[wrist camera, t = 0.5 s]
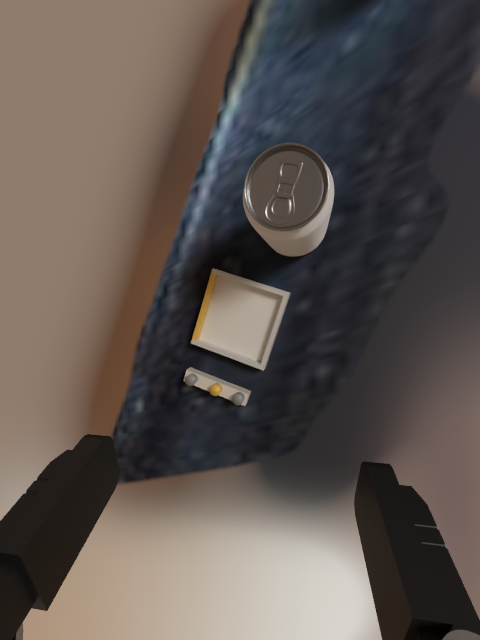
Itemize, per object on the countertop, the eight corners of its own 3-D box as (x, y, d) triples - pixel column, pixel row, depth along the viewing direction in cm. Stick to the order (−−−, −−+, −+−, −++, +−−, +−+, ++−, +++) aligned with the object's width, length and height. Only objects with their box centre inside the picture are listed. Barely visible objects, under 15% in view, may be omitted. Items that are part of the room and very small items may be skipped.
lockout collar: (216, 269, 34) (212, 268, 32) (290, 292, 32) (289, 292, 31) (195, 341, 35) (190, 343, 34) (265, 367, 34) (263, 370, 32)
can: (257, 250, 33) (227, 227, 21) (272, 188, 32) (249, 129, 20) (317, 263, 31) (321, 246, 20) (335, 199, 30) (349, 142, 19)
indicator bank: (190, 367, 36) (183, 371, 34) (251, 391, 34) (247, 397, 32) (187, 378, 36) (180, 383, 34) (247, 402, 34) (243, 408, 32)
